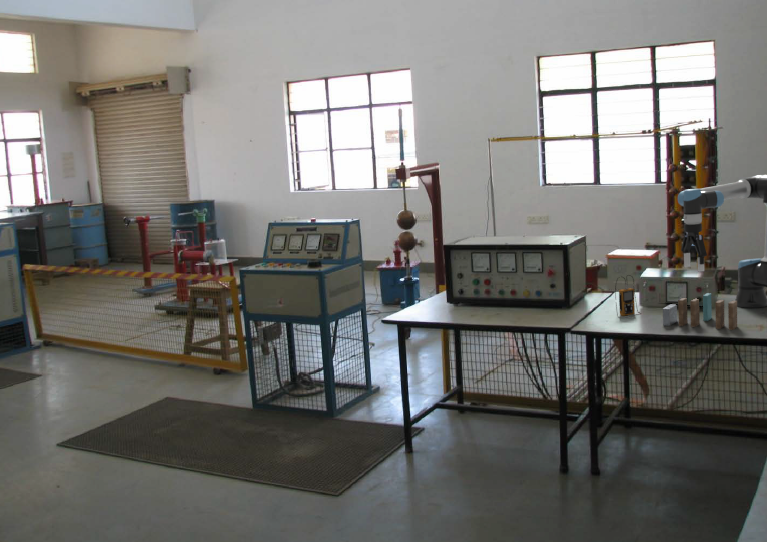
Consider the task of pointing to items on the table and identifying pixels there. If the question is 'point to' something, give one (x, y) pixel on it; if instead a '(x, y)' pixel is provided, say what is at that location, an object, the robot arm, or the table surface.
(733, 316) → the tile
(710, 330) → the table surface
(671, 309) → the bar
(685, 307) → the tile
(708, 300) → the tile
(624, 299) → the multimeter
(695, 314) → the tile
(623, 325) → the table surface
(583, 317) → the table surface
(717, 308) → the tile
